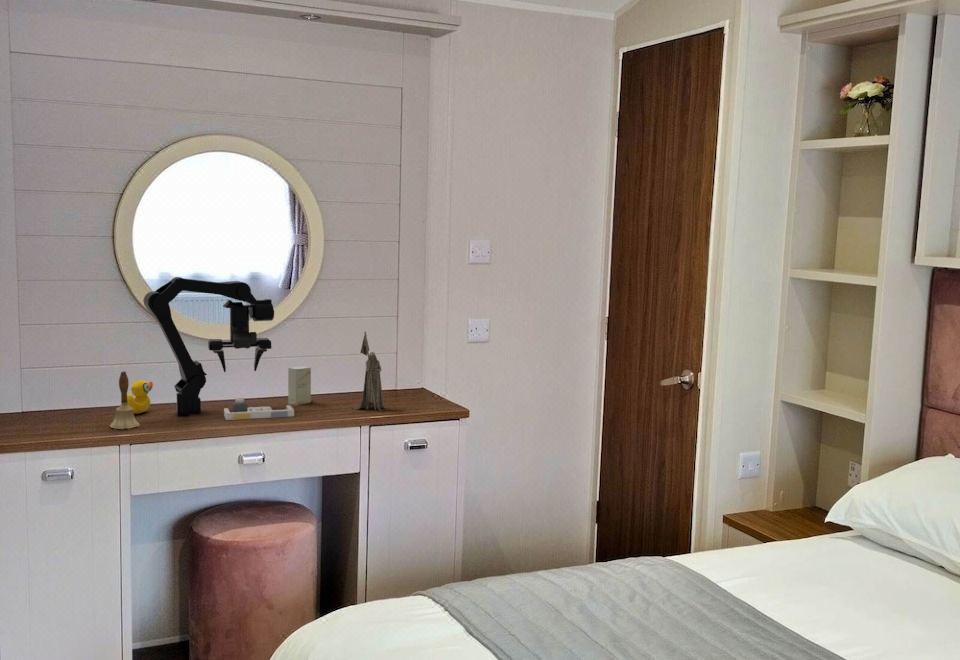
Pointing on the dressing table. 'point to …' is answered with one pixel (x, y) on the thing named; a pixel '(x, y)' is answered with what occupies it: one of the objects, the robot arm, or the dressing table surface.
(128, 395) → the duckling
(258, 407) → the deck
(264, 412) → the socket board
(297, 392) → the skincare box
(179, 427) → the dressing table surface
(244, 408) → the plug
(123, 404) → the hand bell
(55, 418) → the dressing table surface
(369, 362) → the wizard figurine
